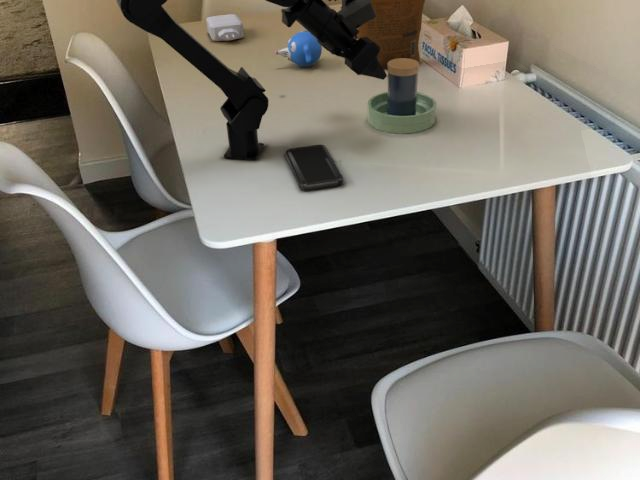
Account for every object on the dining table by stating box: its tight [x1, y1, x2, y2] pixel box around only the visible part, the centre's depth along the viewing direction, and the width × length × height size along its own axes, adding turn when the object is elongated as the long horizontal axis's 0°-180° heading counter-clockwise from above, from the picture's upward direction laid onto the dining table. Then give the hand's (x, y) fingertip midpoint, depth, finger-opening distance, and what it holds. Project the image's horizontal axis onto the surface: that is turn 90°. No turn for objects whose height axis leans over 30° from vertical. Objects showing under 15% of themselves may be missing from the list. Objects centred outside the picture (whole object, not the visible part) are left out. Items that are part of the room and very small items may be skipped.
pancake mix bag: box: [356, 0, 426, 70], centre depth 161 cm, size 7×19×28 cm, turn 102°
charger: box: [205, 13, 245, 42], centre depth 190 cm, size 5×9×15 cm
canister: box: [386, 58, 420, 116], centre depth 137 cm, size 6×6×12 cm
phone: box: [285, 144, 344, 192], centre depth 124 cm, size 8×1×15 cm
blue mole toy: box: [274, 31, 323, 68], centre depth 168 cm, size 12×12×8 cm
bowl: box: [366, 91, 437, 135], centre depth 139 cm, size 14×14×4 cm
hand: (375, 69), depth 132 cm, fingers open, 9 cm apart
